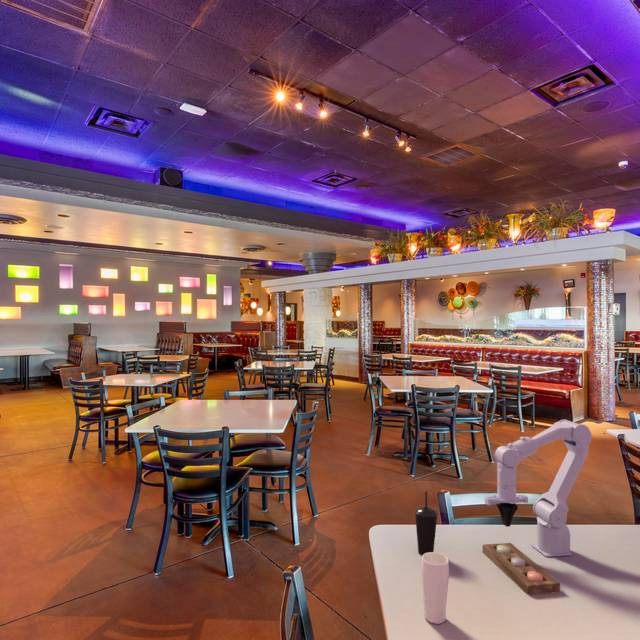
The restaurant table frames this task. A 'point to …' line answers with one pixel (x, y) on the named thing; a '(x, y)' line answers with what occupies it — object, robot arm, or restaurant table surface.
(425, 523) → the drinking cup
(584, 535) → the restaurant table surface
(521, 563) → the grey button
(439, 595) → the drinking glass
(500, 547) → the sage button
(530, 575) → the terracotta button
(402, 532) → the restaurant table surface
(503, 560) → the panel
